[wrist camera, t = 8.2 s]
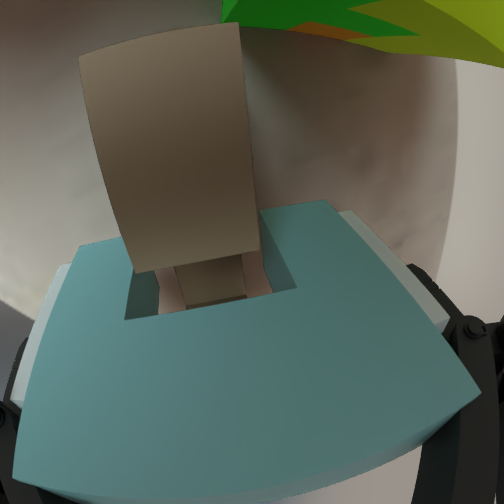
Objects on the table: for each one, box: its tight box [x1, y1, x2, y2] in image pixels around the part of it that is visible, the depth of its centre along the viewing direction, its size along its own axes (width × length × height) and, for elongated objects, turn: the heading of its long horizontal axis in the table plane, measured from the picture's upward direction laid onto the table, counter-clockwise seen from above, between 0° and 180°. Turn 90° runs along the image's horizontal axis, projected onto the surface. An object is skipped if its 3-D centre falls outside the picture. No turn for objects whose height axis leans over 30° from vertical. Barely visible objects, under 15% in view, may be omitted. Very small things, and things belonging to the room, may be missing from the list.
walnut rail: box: [78, 22, 260, 310], centre depth 13 cm, size 16×3×10 cm, turn 5°
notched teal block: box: [12, 200, 482, 504], centre depth 9 cm, size 11×3×10 cm, turn 95°
